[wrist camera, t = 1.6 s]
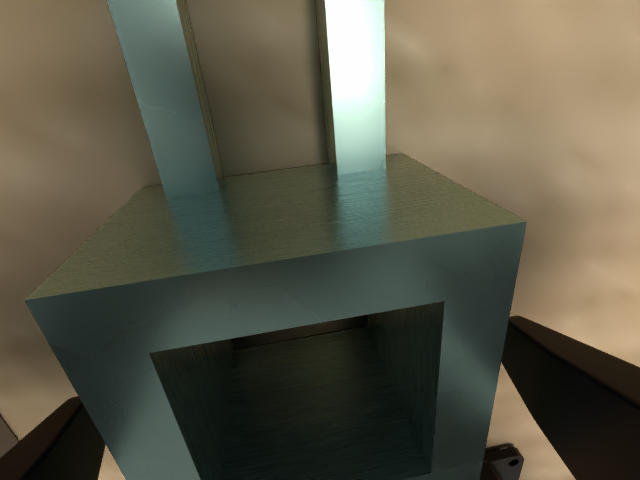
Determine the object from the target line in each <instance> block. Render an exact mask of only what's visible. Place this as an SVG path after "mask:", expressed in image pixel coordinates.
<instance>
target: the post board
mask: <svg viewBox="0 0 640 480" xmlns="http://www.w3.org/2000/svg"><path fill="white" fill-rule="evenodd" d="M18 442H19V441H18V440H17V439H16V437H15V436H14V435H13V433H12V432H11V431H10V429H9V428H8V426H7V425H6V424H5V422H4V421H3V420H2V418H1V417H0V458H1V457H2V456H3V455H4V454H5V453H6V452H8V451H9V450H10V449H11V448H12V447H13V446H14V445H16V444H17V443H18Z"/></svg>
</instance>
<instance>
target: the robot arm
mask: <svg viewBox="0 0 640 480" xmlns="http://www.w3.org/2000/svg"><path fill="white" fill-rule="evenodd" d="M501 363H502V364H503V366H504V368H505V370H506V371H507V373H508V375H509V377H510V378H511V380H512V382H513V384H514V386H515V387H516V389H517V391H518V393H519V394H520V396H521V398H522V400H523V401H524V403H525V405H526V407H527V408H528V410H529V412H530V413H531V415H532V417H533V418H534V420H535V421H536V423H537V424H538V426H539V427H540V429H541V430H542V432H543V433H544V434H545V436H546V437H547V439H548V440H549V442H550V443H551V444H552V446H553V447H554V449H555V450H556V452H557V453H558V455H559V456H560V457H561V459H562V460H563V462H564V463H565V465H566V466H567V467H568V469H569V470H570V472H571V473H572V475H573V476H574V478H575V479H576V480H640V367H638V366H635V365H633V364H631V363H629V362H626V361H624V360H622V359H619V358H617V357H615V356H612V355H610V354H608V353H605V352H603V351H601V350H598V349H596V348H594V347H591V346H589V345H587V344H584V343H582V342H580V341H577V340H575V339H573V338H570V337H568V336H566V335H563V334H561V333H559V332H556V331H554V330H552V329H549V328H547V327H545V326H542V325H540V324H538V323H535V322H533V321H531V320H528V319H526V318H524V317H521V316H511V317H509V321H508V326H507V332H506V337H505V343H504V348H503V354H502V359H501ZM105 445H106V444H105V442H104V440H103V438H102V436H101V435H100V433H99V431H98V429H97V428H96V426H95V424H94V422H93V421H92V419H91V417H90V415H89V414H88V412H87V410H86V408H85V406H84V405H83V403H82V401H81V399H80V398H79V396H77V397H72V398H70V399H68V400H67V401H66V402H64V403H63V404H62V405H61V406H60V407H59V408H57V409H56V410H55V411H54V412H53V413H52V414H50V415H49V416H48V417H47V418H46V419H45V420H44V421H42V422H41V423H40V424H39V425H38V426H37V427H35V428H34V429H33V430H32V431H31V432H30V433H28V434H27V435H26V436H25V437H24V438H23V439H21V440H20V441H19V442H18V443H17V444H16V445H14V446H13V447H12V448H11V449H10V450H9V451H8V452H6V453H5V454H4V455H3V456H2V457H1V458H0V480H98V476H99V472H100V467H101V463H102V458H103V454H104V449H105ZM523 462H524V458H523V456H522V455H521V453H520V452H519V450H518V449H517V448H514V447H511V448H506V449H502V450H497V451H493V452H488V453H484V458H483V464H482V469H481V475H480V480H519V477H520V473H521V469H522V466H523Z"/></svg>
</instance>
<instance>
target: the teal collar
mask: <svg viewBox="0 0 640 480" xmlns="http://www.w3.org/2000/svg"><path fill="white" fill-rule="evenodd" d="M315 2H316V15H317V27H318V39H319V51H320V63H321V75H322V87H323V100H324V112H325V124H326V136H327V148H328V160H329V163H327V164H320V165H312V166H304V167H297V168H289V169H282V170H274V171H266V172H259V173H251V174H243V175H236V176H228V177H224V174H223V170H222V165H221V161H220V156H219V151H218V147H217V142H216V138H215V133H214V129H213V124H212V119H211V115H210V110H209V106H208V101H207V97H206V92H205V87H204V83H203V78H202V74H201V69H200V65H199V60H198V55H197V51H196V46H195V42H194V37H193V33H192V28H191V23H190V19H189V14H188V10H187V5H186V1H185V0H107V3H108V6H109V9H110V13H111V16H112V19H113V23H114V26H115V29H116V33H117V36H118V39H119V43H120V46H121V49H122V53H123V56H124V59H125V63H126V66H127V69H128V73H129V76H130V79H131V82H132V86H133V89H134V92H135V96H136V99H137V102H138V106H139V109H140V112H141V116H142V119H143V122H144V126H145V129H146V132H147V136H148V139H149V142H150V146H151V149H152V152H153V155H154V159H155V162H156V165H157V169H158V172H159V175H160V179H161V182H162V185H159V186H152V187H144V188H141V189H140V190H139V191H138V192H137V193H136V194H134V195H133V196H132V197H131V198H130V199H129V200H128V201H127V202H126V203H125V204H124V205H123V206H122V207H121V208H120V209H119V210H118V211H117V212H116V213H115V214H114V215H113V216H111V217H110V218H109V219H108V220H107V221H106V222H105V223H104V224H103V225H102V226H101V227H100V228H99V229H98V230H97V231H96V232H95V233H94V234H93V235H92V236H91V237H90V238H89V239H87V240H86V241H85V242H84V243H83V244H82V245H81V246H80V247H79V248H78V249H77V250H76V251H75V252H74V253H73V254H72V255H71V256H70V257H69V258H68V259H67V260H66V261H65V262H63V263H62V264H61V265H60V266H59V267H58V268H57V269H56V270H55V271H54V272H53V273H52V274H51V275H50V276H49V277H48V278H47V279H46V280H45V281H44V282H43V283H42V284H41V285H39V286H38V287H37V288H36V289H35V290H34V291H33V292H32V293H31V294H30V295H29V296H28V297H27V298H26V299H25V302H26V304H27V306H28V308H29V309H30V311H31V313H32V315H33V316H34V318H35V320H36V322H37V323H38V325H39V327H40V329H41V331H42V332H43V334H44V336H45V338H46V339H47V341H48V343H49V345H50V346H51V348H52V350H53V352H54V353H55V355H56V357H57V359H58V361H59V362H60V364H61V366H62V368H63V369H64V371H65V373H66V375H67V376H68V378H69V380H70V382H71V383H72V385H73V387H74V389H75V391H76V392H77V394H78V396H79V398H80V399H81V401H82V403H83V405H84V406H85V408H86V410H87V412H88V414H89V415H90V417H91V419H92V421H93V422H94V424H95V426H96V428H97V429H98V431H99V433H100V435H101V436H102V438H103V440H104V442H105V444H106V445H107V447H108V449H109V451H110V452H111V454H112V456H113V458H114V459H115V461H116V463H117V465H118V466H119V468H120V470H121V472H122V474H123V475H124V477H125V479H126V480H480V475H481V469H482V464H483V458H484V453H485V447H486V442H487V436H488V431H489V425H490V420H491V414H492V409H493V403H494V398H495V392H496V387H497V381H498V376H499V370H500V365H501V359H502V354H503V348H504V343H505V337H506V332H507V326H508V321H509V315H510V310H511V304H512V299H513V293H514V288H515V282H516V277H517V271H518V266H519V260H520V255H521V249H522V244H523V238H524V233H525V227H526V221H525V220H523V219H521V218H519V217H517V216H516V215H514V214H512V213H510V212H508V211H507V210H505V209H503V208H501V207H499V206H497V205H496V204H494V203H492V202H490V201H488V200H487V199H485V198H483V197H481V196H479V195H478V194H476V193H474V192H472V191H470V190H468V189H467V188H465V187H463V186H461V185H459V184H458V183H456V182H454V181H452V180H450V179H449V178H447V177H445V176H443V175H441V174H439V173H438V172H436V171H434V170H432V169H430V168H429V167H427V166H425V165H423V164H421V163H420V162H418V161H416V160H414V159H412V158H410V157H409V156H407V155H405V154H396V155H388V156H386V132H385V33H384V0H315ZM362 315H368V326H366V327H360V328H354V329H349V330H343V331H338V332H332V333H327V334H321V335H315V336H310V337H304V338H299V339H293V340H288V341H282V342H276V343H271V344H265V345H260V346H254V347H249V348H243V349H237V350H234V349H233V345H232V341H231V339H232V338H237V337H243V336H249V335H254V334H260V333H266V332H271V331H277V330H283V329H288V328H294V327H300V326H305V325H311V324H317V323H323V322H328V321H334V320H340V319H345V318H351V317H357V316H362Z"/></svg>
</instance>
